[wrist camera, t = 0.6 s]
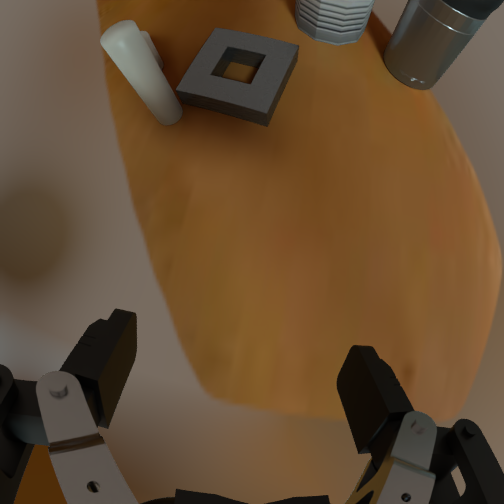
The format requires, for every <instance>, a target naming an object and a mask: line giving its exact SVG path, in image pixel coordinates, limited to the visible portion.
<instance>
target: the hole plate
mask: <svg viewBox="0 0 504 504" xmlns="http://www.w3.org/2000/svg"><path fill="white" fill-rule="evenodd" d="M298 50H299V46H298V45H295V44H291V43H288V42H284V41H280V40H276V39H272V38H268V37H263V36H259V35H254V34H249V33H244V32H239V31H233V30H228V29H222V28H215V29H214V31H213V32H212V34H211V35H210V37H209V38H208V39H207V41H206V42H205V44H204V45H203V47H202V48H201V50H200V51H199V53H198V54H197V56H196V57H195V59H194V61H193V62H192V64H191V65H190V67H189V68H188V70H187V72H186V73H185V75H184V77H183V78H182V80H181V82H180V83H179V85H178V87H177V88H176V92H177V94H178V95H179V97H180V99H181V101H182V103H183V104H188V105H192V106H196V107H200V108H204V109H208V110H211V111H215V112H219V113H223V114H226V115H230V116H233V117H237V118H240V119H243V120H247V121H250V122H253V123H257V124H260V125H263V126H266V127H268V124H269V122H270V120H271V117H272V115H273V113H274V111H275V109H276V106H277V104H278V102H279V100H280V97H281V95H282V93H283V91H284V89H285V87H286V84H287V82H288V80H289V78H290V76H291V74H292V71H293V69H294V67H295V65H296V63H297V59H298ZM230 62H235V63H240V64H244V65H248V66H252V67H256V68H259V70H258V71H257V73H256V75H255V77H254V79H253V81H252V83H251V85H250V84H246V83H242V82H238V81H234V80H230V79H226V78H222V76H223V74H224V72H225V71H226V69H227V67H228V65H229V64H230Z"/></svg>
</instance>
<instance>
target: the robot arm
mask: <svg viewBox="0 0 504 504" xmlns="http://www.w3.org/2000/svg"><path fill="white" fill-rule="evenodd" d="M503 1H504V0H408V2H407V4H406V7H405V9H404V11H403V13H402V15H401V18H400V20H399V22H398V24H397V26H396V28H395V30H394V32H393V35H392V36H391V39H390V41H389V43H388V45H387V47H386V49H385V51H384V55H383V56H384V62H385V65H386V66H387V68H388V70H389V71H390V72H391V73H392V75H394V76H395V77H396V78H397V79H398V80H399V81H401V82H402V83H404V84H406V85H407V86H410V87H412V88H415V89H419V90H426V89H430V88H432V87H433V86H434V85H435V84H436V82H437V81H438V80H439V79H440V77H441V76H442V75H443V74H444V73H445V72H446V70H447V69H448V68H449V67H450V65H451V64H452V63H453V62H454V60H455V59H456V58H457V56H458V55H459V54H460V53H461V51H462V50H463V49H464V48H465V46H466V45H467V44H468V42H469V41H470V40H471V39H472V37H473V36H474V35H475V33H476V32H477V31H478V29H479V28H480V27H481V25H482V24H483V23H484V21H485V20H486V19H487V17H488V16H489V15H490V14H491V13H492V12H493V11H494V10H496V9H497V8H498V7H499V6H500V5H501V4H502V3H503ZM136 352H137V316H136V313H134V312H130V311H125V310H120V309H115V310H114V311H113V313H112V314H111V316H110V317H109V319H108V320H103V319H99V320H97V321H96V322H94V323H92V324H91V325H89V327H88V328H87V330H86V331H85V333H84V334H83V336H82V337H81V338H80V340H79V341H78V344H76V346H75V347H74V349H73V350H72V352H71V353H70V355H69V356H68V358H67V359H66V361H65V362H64V364H63V365H62V367H61V369H60V370H59V371H53V372H50V373H47V374H45V375H43V376H42V377H41V378H40V379H39V381H25V380H17V379H14V378H13V375H12V373H11V371H10V370H9V369H8V368H7V367H6V366H4V365H1V364H0V504H13V503H14V500H15V497H16V494H17V491H18V488H19V485H20V482H21V479H22V477H23V474H24V471H25V468H26V466H27V463H28V461H29V458H30V455H31V453H32V450H33V447H34V445H35V444H39V445H48V446H50V447H48V451H49V454H50V458H51V461H52V464H53V467H54V470H55V473H56V475H57V478H58V481H59V484H60V486H61V489H62V491H63V494H64V496H65V499H66V501H67V503H68V504H138V502H137V500H136V499H135V497H134V495H133V494H132V492H131V490H130V489H129V487H128V485H127V483H126V482H125V480H124V478H123V476H122V474H121V472H120V471H119V469H118V467H117V465H116V463H115V461H114V459H113V457H112V455H111V453H110V451H109V449H108V447H107V445H106V443H105V441H104V439H103V437H102V436H100V434H99V431H98V429H97V428H98V426H100V427H104V428H107V429H108V428H109V425H110V422H111V419H112V417H113V414H114V412H115V409H116V406H117V404H118V401H119V399H120V396H121V393H122V391H123V388H124V386H125V383H126V381H127V378H128V376H129V373H130V371H131V369H132V366H133V364H134V361H135V357H136ZM337 390H338V393H339V396H340V399H341V402H342V405H343V408H344V411H345V414H346V417H347V420H348V423H349V426H350V429H351V432H352V435H353V438H354V442H355V445H356V448H357V451H358V454H364V453H371V456H372V457H371V458H370V460H369V461H368V463H367V465H366V467H365V469H364V471H363V473H362V474H361V477H360V479H359V480H358V482H357V484H356V486H355V488H354V490H353V492H352V494H351V495H350V497H349V498H348V500H347V501H346V502H345V504H504V473H503V472H502V469H501V467H500V465H499V463H498V461H497V459H496V457H495V456H494V453H493V452H492V450H491V448H490V446H489V444H488V443H487V440H486V439H485V437H484V435H483V433H482V431H481V430H480V428H479V427H478V426H477V425H476V424H475V423H474V422H472V421H471V420H468V419H460V420H458V421H457V422H456V423H455V424H454V425H453V427H452V428H445V427H437V426H436V424H435V422H434V421H433V419H432V418H431V417H429V416H428V415H427V414H425V413H422V412H419V411H415V410H414V409H413V407H412V405H411V403H410V401H409V399H408V397H407V396H406V394H405V392H404V390H403V388H402V386H400V383H399V381H398V379H396V376H395V374H394V372H393V370H392V369H391V367H390V366H389V365H388V364H387V363H386V362H385V361H383V360H382V359H380V358H379V356H378V355H377V353H376V351H375V349H374V348H373V347H372V346H361V345H353V346H352V347H351V349H350V351H349V353H348V355H347V357H346V359H345V362H344V364H343V366H342V368H341V370H340V372H339V374H338V377H337ZM457 466H458V467H459V469H460V472H461V474H462V476H463V479H464V481H465V483H466V489H465V492H464V494H463V495H462V496H461V497H460V495H459V492H458V490H457V487H456V485H455V482H454V480H453V477H452V475H451V472H452V471H453V470H454V469H455V468H456V467H457ZM141 504H248V503H244V502H240V501H236V500H233V499H229V498H226V497H222V496H219V495H216V494H207V493H199V492H193V491H186V490H180V489H176V494H175V497H166V498H159V499H154V500H150V501H147V502H144V503H141ZM267 504H330V502H329V498H328V495H323V496H308V497H292V498H288V499H284V500H280V501H275V502H271V503H267Z"/></svg>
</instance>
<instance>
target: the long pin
mask: <svg viewBox="0 0 504 504" xmlns="http://www.w3.org/2000/svg"><path fill="white" fill-rule="evenodd" d="M100 43H101V45H102V46H103V48H104V49H105V50H106V52H107V53H108V54H109V56H110V57H111V58H112V60H113V61H114V62H115V64H116V65H117V66H118V68H119V69H120V70H121V72H122V73H123V74H124V76H125V77H126V78H127V80H128V81H129V83H130V84H131V85H132V87H133V88H134V89H135V91H136V92H137V93H138V95H139V96H140V97H141V99H142V100H143V101H144V103H145V104H146V105H147V107H148V108H149V109H150V111H151V112H152V113H153V115H154V116H155V117H156V119H157V120H158V121H159V123H160V124H162V125H172V124H174V123H176V122H177V121H178V120H179V119H180V118H181V116H182V113H183V110H182V107H181V105H180V103H179V102H178V100H177V98H176V96H175V94H174V92H173V91H172V89H171V87H170V85H169V83H168V81H167V80H166V78H165V76H164V74H163V72H162V70H161V69H160V67H159V65H158V63H157V61H156V60H155V58H154V56H153V54H152V52H151V50H150V49H149V47H148V45H147V43H146V41H145V40H144V38H143V36H142V34H141V32H140V31H139V29H138V27H137V25H136V23H135V22H134V21H132V20H124V21H121V22H118V23H116V24H114V25H112V26H111V27H110V28H108V29H107V30H106V31H105V32H104V34H103V35H102V37H101V40H100Z"/></svg>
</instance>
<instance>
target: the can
mask: <svg viewBox="0 0 504 504" xmlns="http://www.w3.org/2000/svg"><path fill="white" fill-rule="evenodd" d="M374 1H375V0H296V6H295V18H296V22H297V25H298V29H300V30H301V31H303V32H304V33H305V34H307V35H308V36H310V37H311V38H312V39H314V40H316V41H321V42H325V43H329V44H333V45H337V46H338V45H343V44H348V43H354V42H357V41H358V39H359V38H360V37H361V35H362V34H363V32H364V30H365V27H366V25H367V22H368V19H369V16H370V13H371V10H372V7H373V4H374Z"/></svg>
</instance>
